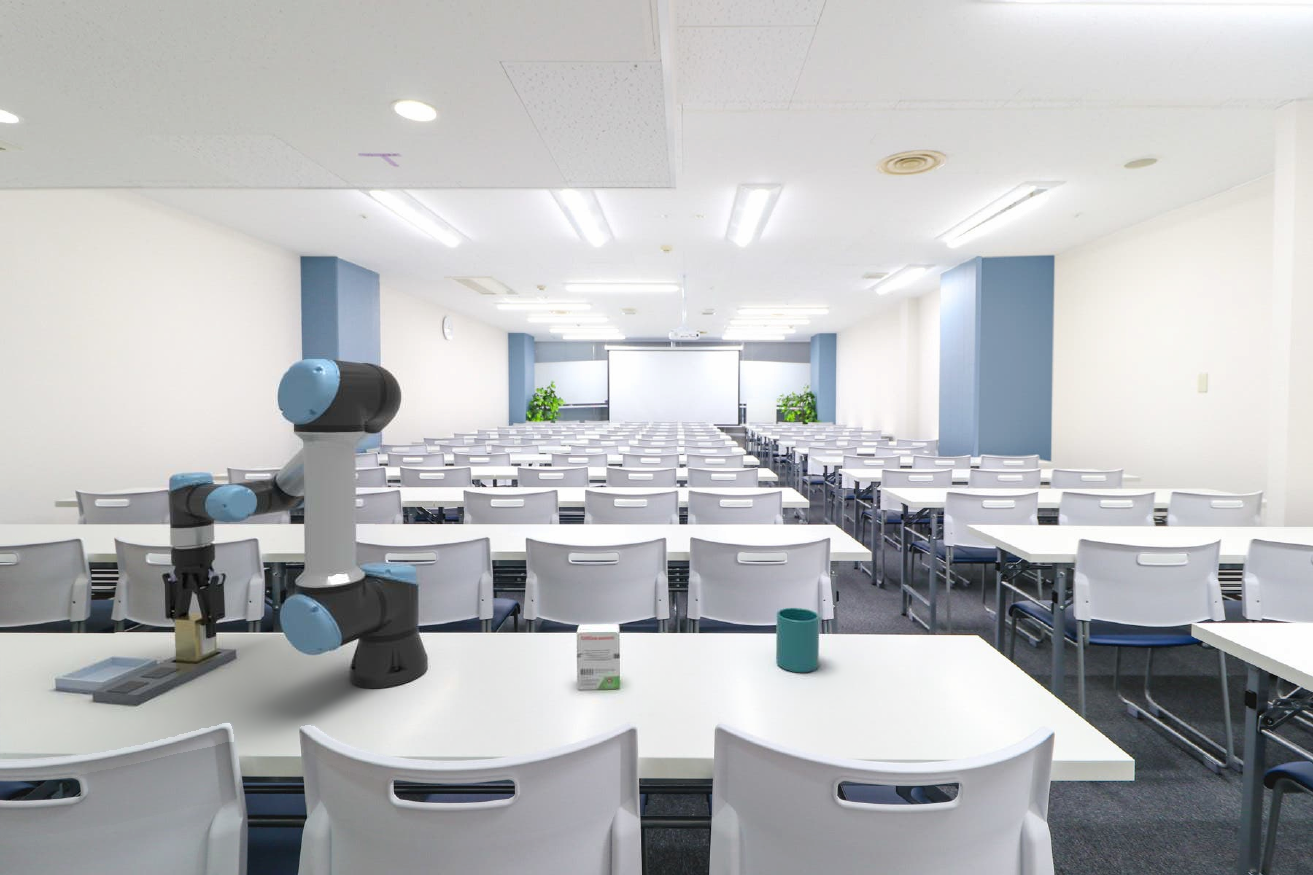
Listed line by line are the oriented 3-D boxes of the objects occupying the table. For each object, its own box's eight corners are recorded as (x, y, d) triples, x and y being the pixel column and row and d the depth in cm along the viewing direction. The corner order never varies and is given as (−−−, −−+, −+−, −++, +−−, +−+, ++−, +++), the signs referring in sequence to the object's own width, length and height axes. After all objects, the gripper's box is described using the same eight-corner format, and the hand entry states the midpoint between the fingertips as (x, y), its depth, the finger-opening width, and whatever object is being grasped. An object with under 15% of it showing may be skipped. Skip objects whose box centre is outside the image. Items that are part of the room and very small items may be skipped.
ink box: (620, 678, 125) (620, 622, 125) (619, 689, 121) (619, 631, 120) (578, 679, 125) (578, 623, 125) (576, 690, 120) (576, 632, 120)
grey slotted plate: (236, 658, 135) (236, 649, 135) (137, 705, 114) (137, 694, 113) (197, 655, 137) (197, 646, 137) (92, 701, 115) (92, 690, 115)
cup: (806, 650, 140) (806, 602, 140) (824, 673, 128) (825, 620, 128) (767, 651, 140) (768, 603, 139) (782, 674, 128) (783, 622, 127)
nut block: (217, 662, 133) (215, 612, 133) (196, 671, 128) (194, 620, 128) (197, 660, 134) (196, 611, 134) (176, 670, 129) (174, 619, 129)
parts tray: (157, 670, 129) (157, 659, 129) (102, 694, 118) (101, 682, 118) (113, 667, 130) (113, 655, 130) (55, 690, 120) (55, 678, 119)
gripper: (244, 542, 132) (247, 647, 133) (173, 539, 135) (177, 642, 136) (214, 550, 125) (217, 661, 126) (139, 547, 128) (143, 655, 129)
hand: (196, 651), depth 131 cm, fingers closed on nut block, 5 cm apart
